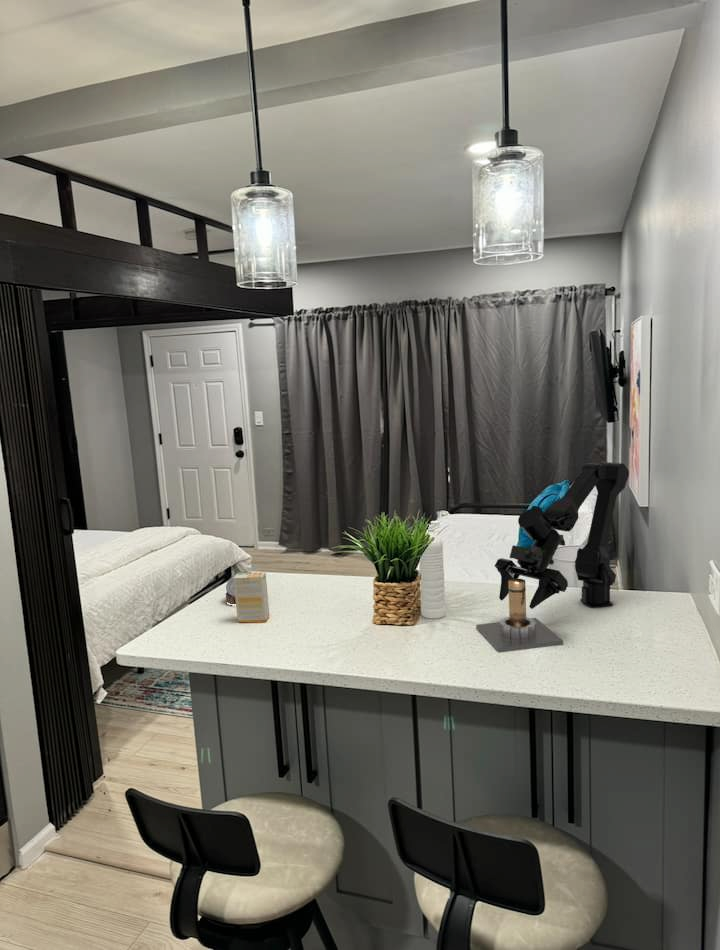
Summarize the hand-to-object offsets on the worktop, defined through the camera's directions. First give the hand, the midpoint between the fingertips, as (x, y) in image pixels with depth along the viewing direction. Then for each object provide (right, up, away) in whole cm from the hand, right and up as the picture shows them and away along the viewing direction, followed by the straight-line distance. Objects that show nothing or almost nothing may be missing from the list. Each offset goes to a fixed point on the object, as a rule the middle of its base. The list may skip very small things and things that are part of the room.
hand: (515, 603), depth 170 cm
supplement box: (-67, -9, +24) cm, 72 cm away
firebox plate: (+1, -8, +2) cm, 8 cm away
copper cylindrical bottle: (+1, -7, +1) cm, 7 cm away
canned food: (-73, -7, +42) cm, 84 cm away
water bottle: (-17, -7, +21) cm, 28 cm away
